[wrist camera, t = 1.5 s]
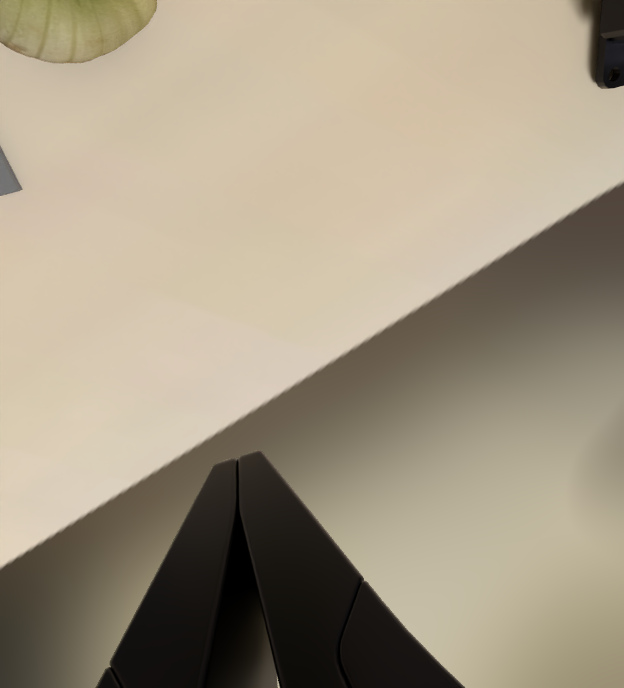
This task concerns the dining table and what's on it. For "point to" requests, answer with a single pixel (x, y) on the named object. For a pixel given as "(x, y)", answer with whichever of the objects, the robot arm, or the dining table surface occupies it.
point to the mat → (7, 177)
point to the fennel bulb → (71, 27)
